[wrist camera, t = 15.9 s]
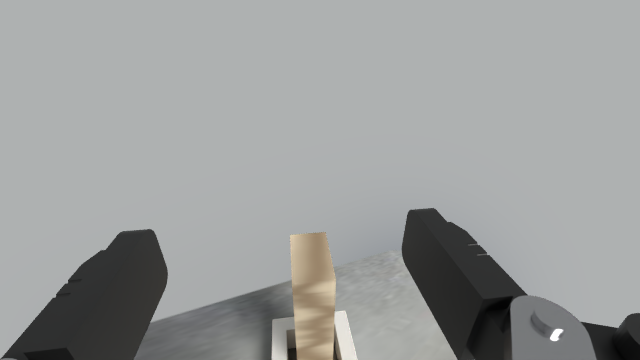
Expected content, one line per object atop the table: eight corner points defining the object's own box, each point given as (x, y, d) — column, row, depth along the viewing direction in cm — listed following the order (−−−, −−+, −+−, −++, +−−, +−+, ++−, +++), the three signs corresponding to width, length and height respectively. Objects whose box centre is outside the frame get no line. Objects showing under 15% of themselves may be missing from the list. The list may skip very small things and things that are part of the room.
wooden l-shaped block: (299, 391, 34) (292, 283, 25) (296, 335, 40) (290, 234, 31) (332, 386, 34) (335, 279, 26) (324, 332, 40) (325, 232, 32)
